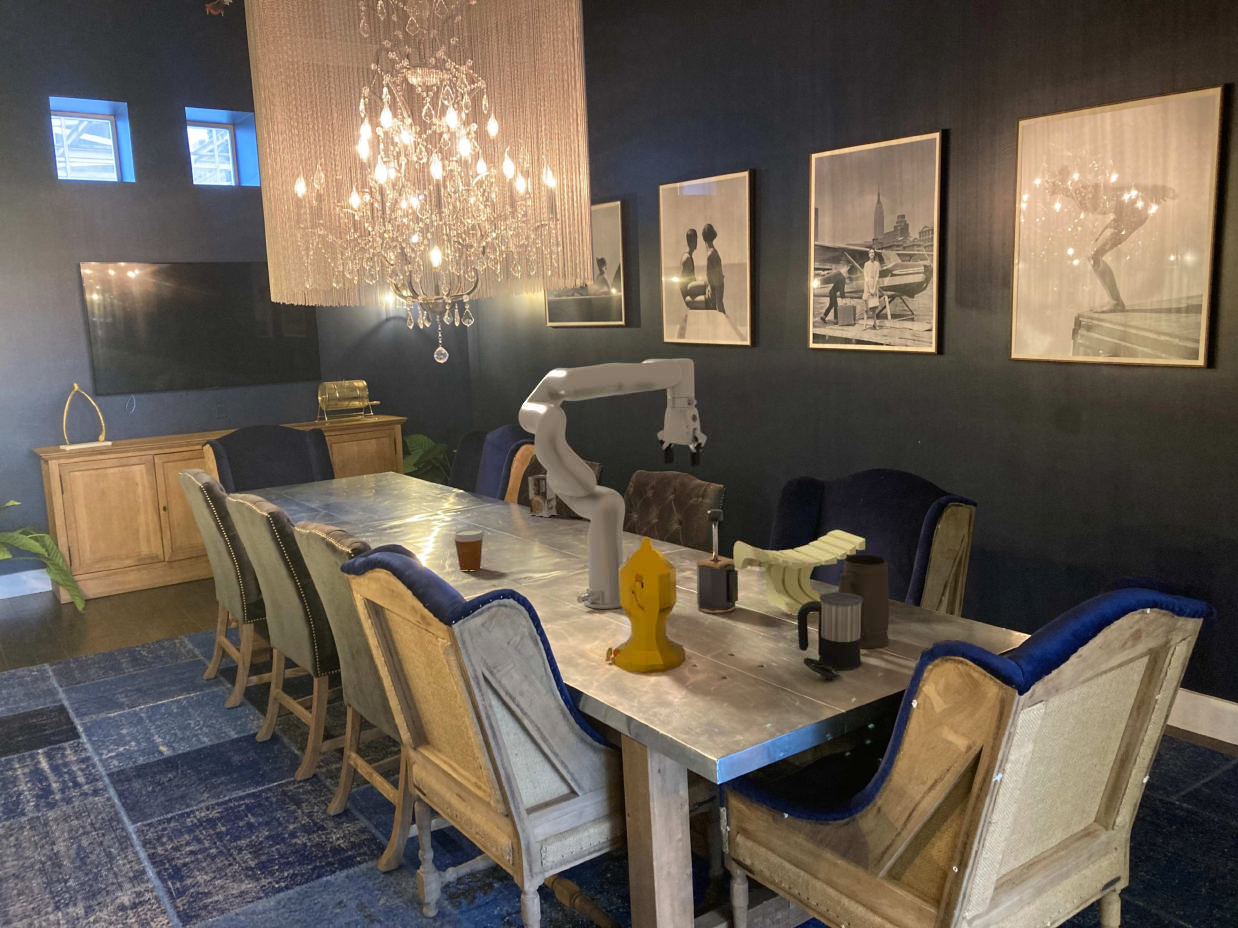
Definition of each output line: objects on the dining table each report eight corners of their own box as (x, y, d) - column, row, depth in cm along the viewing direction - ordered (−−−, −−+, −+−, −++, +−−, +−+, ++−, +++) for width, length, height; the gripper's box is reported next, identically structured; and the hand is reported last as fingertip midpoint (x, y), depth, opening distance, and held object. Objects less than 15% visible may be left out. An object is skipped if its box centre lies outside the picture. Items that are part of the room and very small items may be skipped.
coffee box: (557, 514, 387) (555, 475, 384) (547, 517, 381) (546, 477, 379) (539, 513, 391) (537, 474, 389) (529, 515, 386) (527, 476, 384)
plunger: (718, 572, 246) (717, 514, 244) (698, 569, 250) (697, 511, 248) (732, 567, 251) (732, 510, 248) (713, 564, 255) (712, 507, 253)
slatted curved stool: (831, 590, 266) (831, 527, 264) (864, 605, 251) (865, 538, 249) (734, 603, 256) (733, 538, 254) (762, 619, 241) (762, 550, 239)
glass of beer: (448, 571, 299) (446, 533, 298) (467, 564, 308) (465, 528, 306) (473, 574, 295) (471, 536, 293) (491, 567, 303) (489, 530, 302)
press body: (724, 617, 244) (724, 567, 242) (690, 609, 252) (689, 561, 250) (746, 608, 251) (745, 560, 250) (712, 601, 259) (711, 554, 257)
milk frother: (855, 655, 214) (856, 590, 212) (876, 681, 198) (877, 611, 196) (792, 657, 213) (792, 593, 211) (808, 683, 198) (808, 614, 196)
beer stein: (855, 630, 231) (852, 550, 227) (897, 638, 224) (896, 555, 220) (825, 651, 220) (822, 568, 216) (869, 660, 213) (867, 574, 209)
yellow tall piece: (598, 678, 204) (594, 549, 200) (616, 641, 228) (612, 525, 224) (681, 680, 202) (678, 550, 198) (689, 642, 226) (687, 525, 222)
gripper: (713, 403, 262) (714, 465, 264) (666, 401, 274) (668, 460, 276) (695, 405, 257) (696, 468, 259) (648, 403, 269) (650, 463, 271)
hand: (681, 464), depth 268 cm, fingers open, 9 cm apart
